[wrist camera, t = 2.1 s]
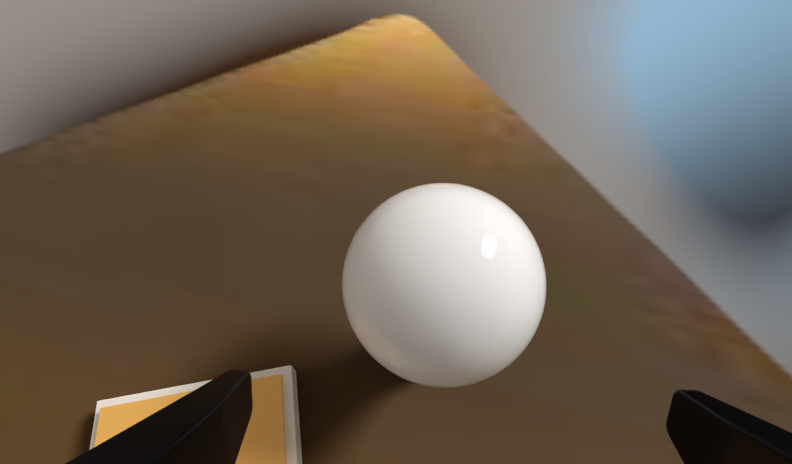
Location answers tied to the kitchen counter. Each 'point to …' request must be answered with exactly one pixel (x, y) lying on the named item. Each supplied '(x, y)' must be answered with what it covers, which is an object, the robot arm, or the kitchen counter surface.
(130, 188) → the kitchen counter surface
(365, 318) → the lightbulb
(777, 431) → the robot arm
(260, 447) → the control panel
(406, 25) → the kitchen counter surface
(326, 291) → the kitchen counter surface
